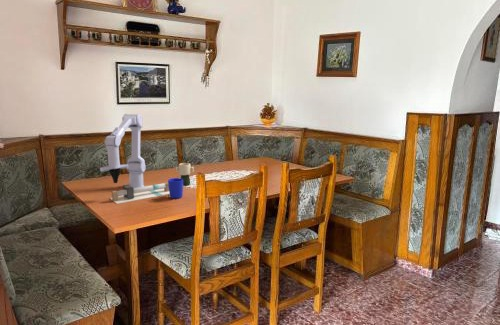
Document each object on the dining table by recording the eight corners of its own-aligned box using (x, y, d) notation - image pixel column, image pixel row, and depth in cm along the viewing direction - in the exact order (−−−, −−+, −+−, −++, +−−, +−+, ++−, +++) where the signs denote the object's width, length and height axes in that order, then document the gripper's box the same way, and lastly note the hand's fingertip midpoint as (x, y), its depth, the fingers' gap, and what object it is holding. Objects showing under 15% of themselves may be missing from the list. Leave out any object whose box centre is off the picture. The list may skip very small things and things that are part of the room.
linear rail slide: (109, 198, 218) (108, 189, 217) (164, 189, 237) (163, 180, 236) (116, 203, 209) (116, 194, 208) (173, 193, 227) (172, 184, 226)
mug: (183, 193, 229) (182, 176, 227) (184, 199, 217) (183, 181, 215) (168, 193, 227) (167, 176, 225) (168, 200, 215) (168, 182, 213)
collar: (123, 195, 220) (122, 185, 219) (128, 194, 222) (128, 184, 221) (128, 199, 214) (127, 188, 213) (134, 198, 216) (133, 187, 215)
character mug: (195, 183, 250) (194, 162, 248) (193, 186, 243) (192, 165, 241) (177, 183, 251) (177, 162, 248) (175, 186, 244) (174, 165, 241)
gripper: (102, 160, 206) (104, 186, 209) (129, 157, 214) (131, 182, 217) (98, 158, 212) (100, 183, 214) (125, 155, 220) (126, 179, 223)
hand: (115, 182), depth 216 cm, fingers closed
